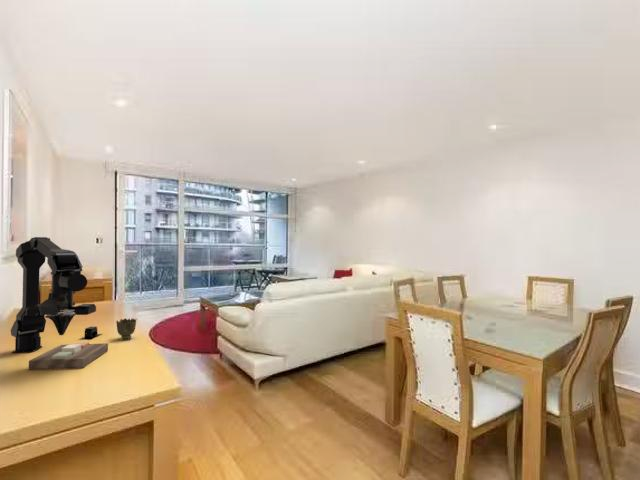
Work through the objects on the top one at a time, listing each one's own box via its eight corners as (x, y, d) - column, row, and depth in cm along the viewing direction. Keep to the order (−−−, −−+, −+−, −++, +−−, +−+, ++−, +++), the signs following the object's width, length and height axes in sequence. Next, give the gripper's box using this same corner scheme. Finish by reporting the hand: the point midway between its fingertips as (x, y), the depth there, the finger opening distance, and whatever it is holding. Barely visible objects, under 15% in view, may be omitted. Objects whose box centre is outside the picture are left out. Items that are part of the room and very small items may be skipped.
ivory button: (61, 357, 115) (61, 348, 115) (68, 353, 119) (68, 344, 119) (74, 357, 116) (74, 347, 116) (80, 353, 120) (81, 344, 120)
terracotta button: (71, 354, 120) (71, 345, 120) (77, 351, 124) (77, 342, 124) (83, 354, 121) (83, 345, 121) (89, 350, 125) (89, 342, 125)
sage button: (51, 366, 110) (51, 356, 110) (58, 361, 114) (59, 352, 114) (64, 365, 110) (64, 355, 110) (71, 361, 114) (72, 351, 114)
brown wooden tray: (28, 370, 108) (28, 360, 108) (61, 352, 124) (61, 344, 125) (83, 368, 110) (83, 358, 110) (107, 351, 127) (107, 343, 127)
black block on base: (91, 334, 152) (91, 324, 152) (108, 334, 152) (108, 324, 152) (72, 342, 139) (72, 331, 139) (90, 342, 140) (91, 331, 140)
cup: (126, 341, 139) (127, 322, 139) (111, 340, 140) (112, 321, 140) (140, 336, 146) (140, 318, 146) (125, 335, 148) (125, 317, 148)
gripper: (13, 292, 104) (12, 343, 104) (79, 292, 106) (78, 341, 106) (38, 287, 115) (37, 333, 115) (97, 287, 117) (96, 331, 117)
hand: (61, 335), depth 113 cm, fingers closed
